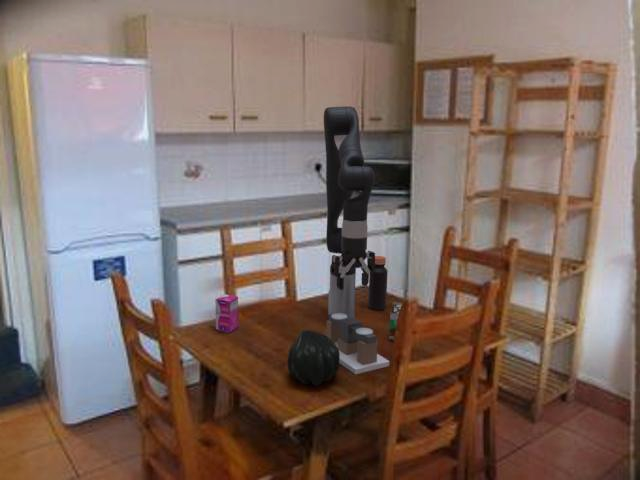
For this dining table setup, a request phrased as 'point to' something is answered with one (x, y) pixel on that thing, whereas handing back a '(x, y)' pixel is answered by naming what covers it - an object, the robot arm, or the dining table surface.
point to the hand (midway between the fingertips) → (352, 287)
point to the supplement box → (226, 313)
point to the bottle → (378, 285)
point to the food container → (394, 319)
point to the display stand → (355, 352)
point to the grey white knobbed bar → (352, 329)
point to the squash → (313, 358)
